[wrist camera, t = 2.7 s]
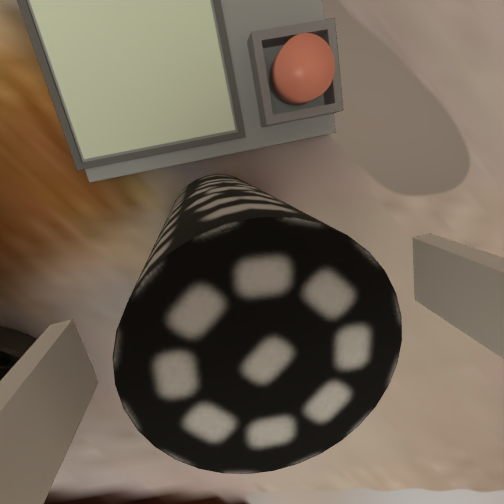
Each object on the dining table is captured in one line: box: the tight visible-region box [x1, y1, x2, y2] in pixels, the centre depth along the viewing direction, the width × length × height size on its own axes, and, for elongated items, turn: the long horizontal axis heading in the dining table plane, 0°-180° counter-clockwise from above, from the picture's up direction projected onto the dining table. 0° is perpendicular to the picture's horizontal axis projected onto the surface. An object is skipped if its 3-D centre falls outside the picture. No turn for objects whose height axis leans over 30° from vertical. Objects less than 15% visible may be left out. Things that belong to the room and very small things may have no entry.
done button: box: [270, 33, 335, 105], centre depth 23 cm, size 4×4×2 cm
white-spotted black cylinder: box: [113, 175, 402, 474], centre depth 19 cm, size 8×8×20 cm
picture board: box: [17, 0, 343, 182], centre depth 23 cm, size 20×15×3 cm
